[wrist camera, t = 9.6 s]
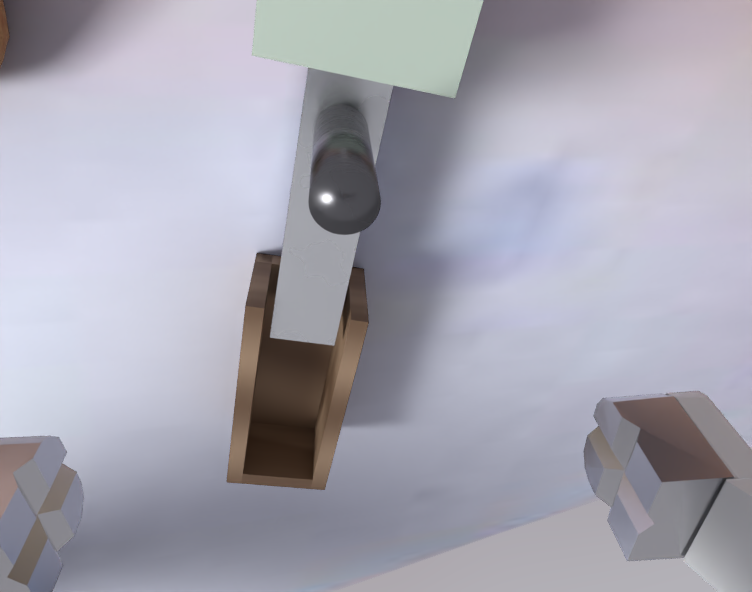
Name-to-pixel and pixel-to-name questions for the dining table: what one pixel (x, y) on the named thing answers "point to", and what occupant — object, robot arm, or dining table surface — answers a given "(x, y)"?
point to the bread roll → (3, 32)
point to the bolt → (328, 202)
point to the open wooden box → (291, 389)
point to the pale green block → (372, 39)
